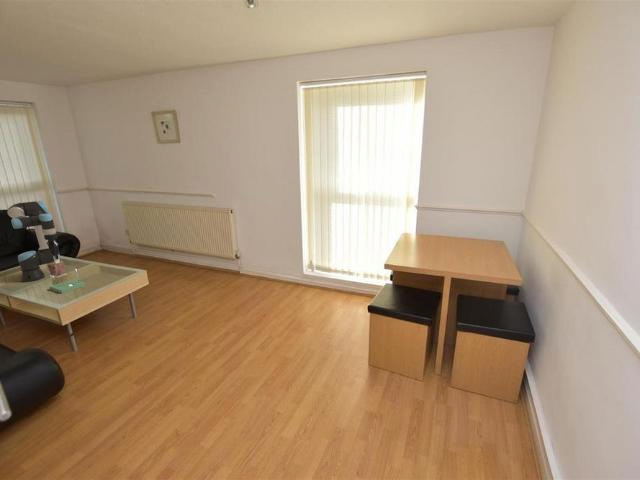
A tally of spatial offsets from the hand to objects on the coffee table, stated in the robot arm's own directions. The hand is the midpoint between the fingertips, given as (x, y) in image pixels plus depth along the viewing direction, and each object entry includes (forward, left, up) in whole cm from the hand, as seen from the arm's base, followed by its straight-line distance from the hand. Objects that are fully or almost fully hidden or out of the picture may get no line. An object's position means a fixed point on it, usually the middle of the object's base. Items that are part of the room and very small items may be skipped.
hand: (57, 262), depth 245 cm
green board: (+8, 0, -19) cm, 21 cm away
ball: (+12, 0, -18) cm, 21 cm away
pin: (+13, +6, -17) cm, 22 cm away
